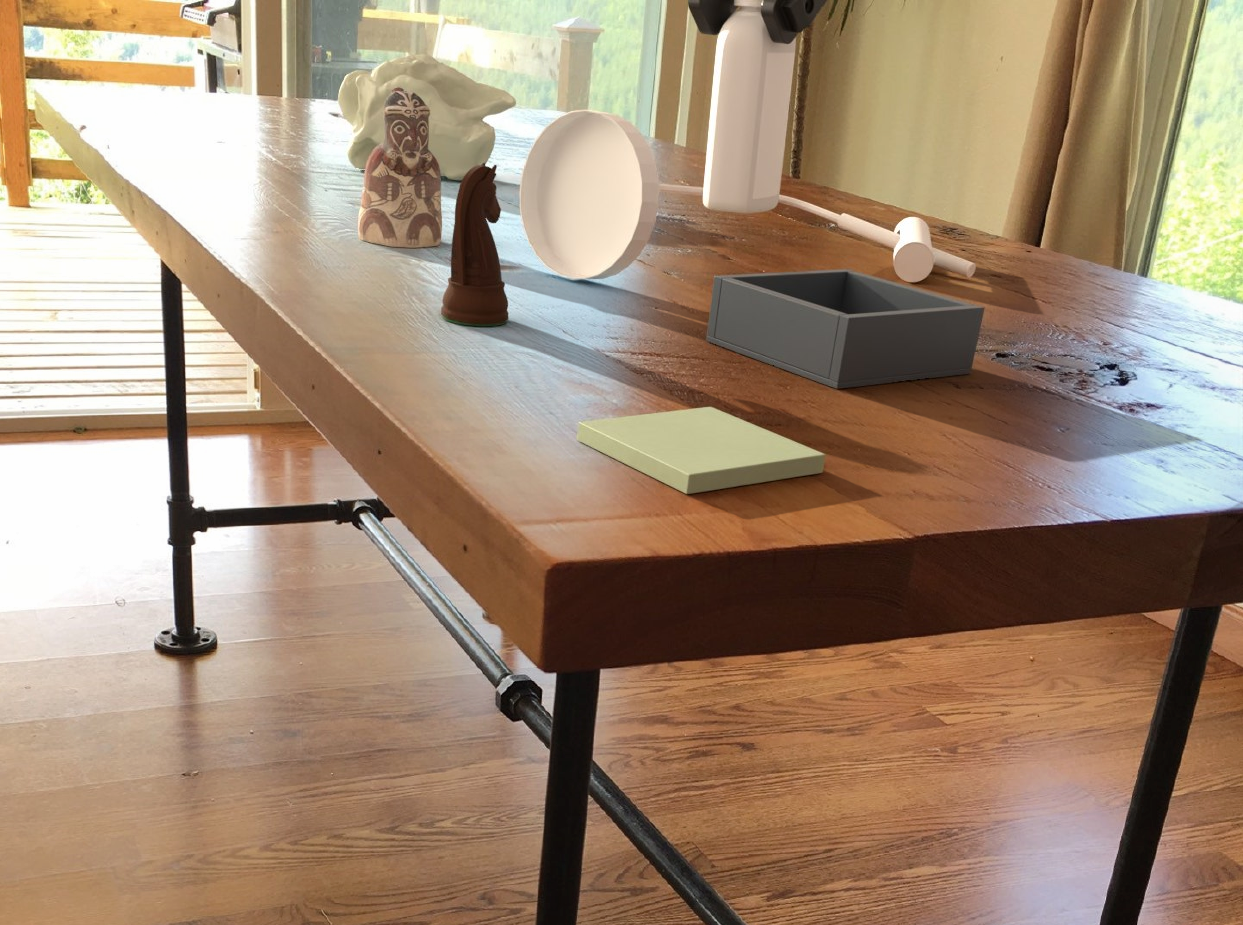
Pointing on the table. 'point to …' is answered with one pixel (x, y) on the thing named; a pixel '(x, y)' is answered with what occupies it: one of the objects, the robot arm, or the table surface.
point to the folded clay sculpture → (444, 91)
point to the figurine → (402, 179)
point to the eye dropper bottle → (747, 115)
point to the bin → (843, 326)
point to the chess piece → (475, 255)
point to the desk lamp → (646, 203)
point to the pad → (700, 449)
